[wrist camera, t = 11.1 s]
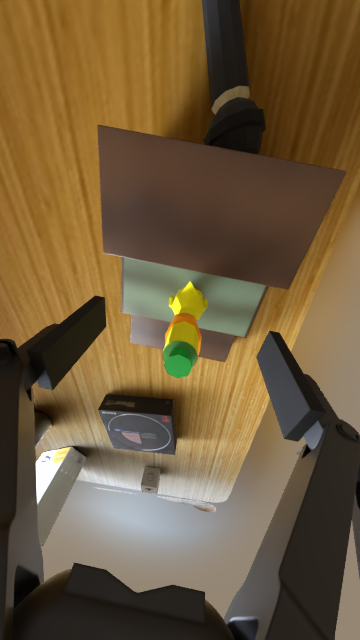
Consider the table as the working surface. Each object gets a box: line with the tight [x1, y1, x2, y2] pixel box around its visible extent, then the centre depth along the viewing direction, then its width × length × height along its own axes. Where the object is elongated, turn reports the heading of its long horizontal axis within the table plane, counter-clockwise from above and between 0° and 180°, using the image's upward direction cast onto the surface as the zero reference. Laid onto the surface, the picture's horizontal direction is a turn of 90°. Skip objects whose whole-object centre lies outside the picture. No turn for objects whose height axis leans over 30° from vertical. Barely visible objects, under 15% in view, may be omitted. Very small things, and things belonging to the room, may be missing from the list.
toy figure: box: [163, 282, 208, 378], centre depth 16 cm, size 7×4×12 cm, turn 177°
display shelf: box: [97, 125, 346, 362], centre depth 23 cm, size 24×16×12 cm, turn 170°
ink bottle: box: [34, 411, 51, 448], centre depth 50 cm, size 10×9×12 cm
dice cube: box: [141, 466, 160, 494], centre depth 61 cm, size 5×5×5 cm
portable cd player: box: [98, 395, 177, 455], centre depth 47 cm, size 16×17×4 cm
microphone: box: [202, 0, 266, 154], centre depth 16 cm, size 6×6×20 cm
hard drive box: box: [36, 447, 87, 546], centre depth 56 cm, size 16×8×20 cm, turn 120°
